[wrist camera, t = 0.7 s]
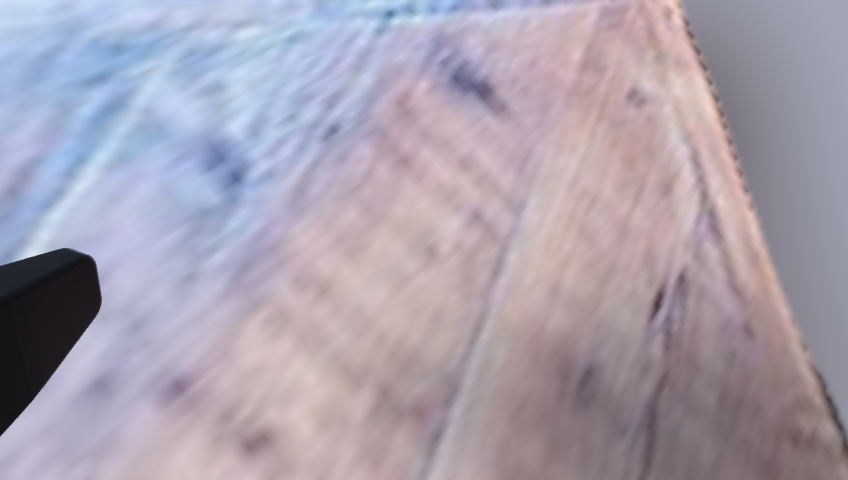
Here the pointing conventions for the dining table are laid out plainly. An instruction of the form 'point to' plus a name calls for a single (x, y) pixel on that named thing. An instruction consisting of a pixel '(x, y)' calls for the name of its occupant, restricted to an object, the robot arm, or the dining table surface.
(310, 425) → the dining table surface
